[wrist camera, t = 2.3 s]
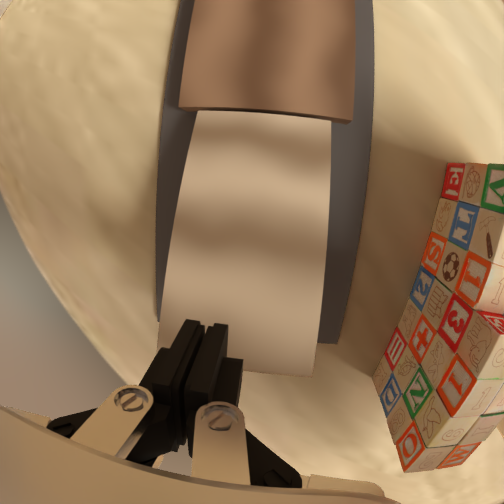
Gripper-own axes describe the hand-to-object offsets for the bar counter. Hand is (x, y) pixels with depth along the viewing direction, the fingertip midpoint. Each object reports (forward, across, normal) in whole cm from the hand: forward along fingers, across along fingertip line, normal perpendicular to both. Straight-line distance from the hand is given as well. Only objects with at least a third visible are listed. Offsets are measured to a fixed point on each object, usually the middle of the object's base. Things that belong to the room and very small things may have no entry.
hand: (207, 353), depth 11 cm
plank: (+9, -1, -3) cm, 9 cm away
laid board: (+13, -1, -18) cm, 22 cm away
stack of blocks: (+13, -18, +1) cm, 22 cm away
